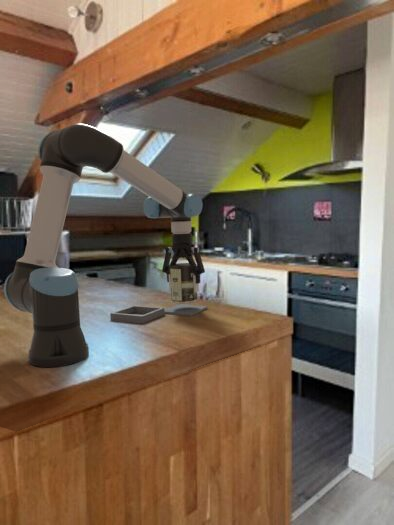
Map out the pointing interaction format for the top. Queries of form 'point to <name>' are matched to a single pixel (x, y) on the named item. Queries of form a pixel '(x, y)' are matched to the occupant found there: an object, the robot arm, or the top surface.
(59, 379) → the top surface
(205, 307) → the slate mat
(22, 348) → the top surface
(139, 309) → the collar
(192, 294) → the coffee can
